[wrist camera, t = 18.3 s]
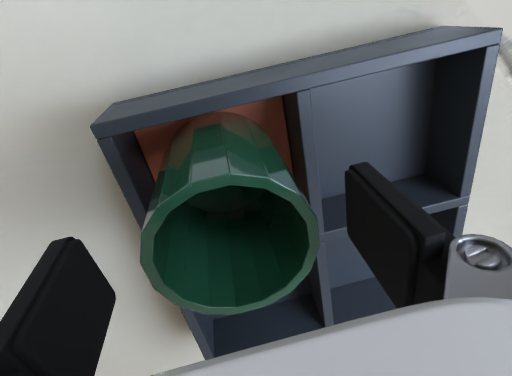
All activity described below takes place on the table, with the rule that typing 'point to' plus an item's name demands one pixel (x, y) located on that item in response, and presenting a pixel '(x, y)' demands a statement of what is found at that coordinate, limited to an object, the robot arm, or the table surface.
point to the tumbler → (226, 219)
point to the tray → (329, 155)
